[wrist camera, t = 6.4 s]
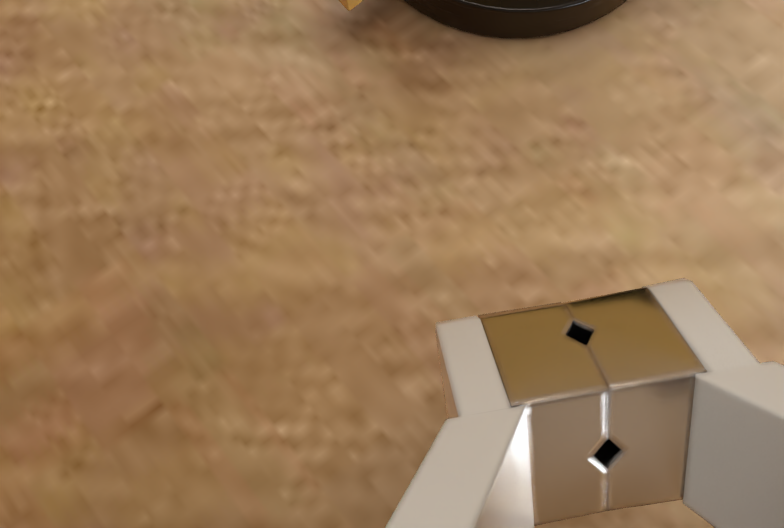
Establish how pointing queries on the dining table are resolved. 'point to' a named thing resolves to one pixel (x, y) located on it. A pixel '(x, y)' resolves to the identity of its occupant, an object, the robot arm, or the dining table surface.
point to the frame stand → (515, 15)
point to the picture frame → (350, 3)
